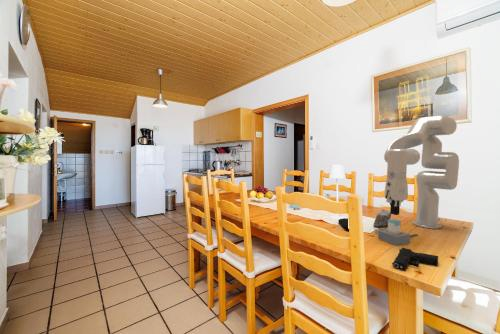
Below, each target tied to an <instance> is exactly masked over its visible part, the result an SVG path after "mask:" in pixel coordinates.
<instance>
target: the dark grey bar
mask: <svg viewBox="0 0 500 334" xmlns="http://www.w3.org/2000/svg"><path fill="white" fill-rule="evenodd" d="M415 237H419V234H417V233H414V234H410V239H411V238H415Z"/></svg>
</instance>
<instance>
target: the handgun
mask: <svg viewBox="0 0 500 334" xmlns="http://www.w3.org/2000/svg"><path fill="white" fill-rule="evenodd" d="M420 264H424V265H429V266H433V265H434V266H435V267H438V265H439V255H434V254H428V253H423V252H415V251H413V250H412V249H410V248H405V247H401V248H399V252H398V254H397V256H396V257H395V258H394V260H393V262H391V265H392V267H393V268H394V269H396V270H401V271H406V269H408V268H407V267H408V266H412V267H415V268H419V265H420Z"/></svg>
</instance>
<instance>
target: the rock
mask: <svg viewBox="0 0 500 334" xmlns="http://www.w3.org/2000/svg"><path fill="white" fill-rule="evenodd" d="M388 219H392V214H391V213H390V211H388V210H385V209H382V210H381V211H379V212H377V215H376V217H375V219H374V222H373V227H380V228H385V227H386V226H388Z"/></svg>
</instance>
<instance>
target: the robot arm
mask: <svg viewBox="0 0 500 334" xmlns="http://www.w3.org/2000/svg"><path fill="white" fill-rule="evenodd" d="M457 127H458V125H457V121H456V120H455V119H454V118H452V117H450V116H447V115H442V114H441V115H440V114H439V115H431V116H422V117H419V118H417V119H415V120H414V122H413V123H412V124H411V126H410V128H409V130H408V131H407V132H406V134H405V135H402V136H401V137H399V138H397V139H395V140H394V141H392V142H390V144H389V145H388V147H387V148H386V150H385V152H384V155H383V158H384V162H386V163H387V165H386V166H387V169H386V180H385V187H384V198H385V199H386V203H389V206H390V211H389V212H390V213H391V215H394V216H399V215H400V209H401V204H402V203H403V202H404V201H406V200H407V199H408V198H409V197H408V196H409V187H408V179H407V172H408V171H407V170H408V169H407V167H408V166H407V165H409V166H410V165H416V164H417V163H418V162H420V161H421V166H422V167H423V168H425V169H429V170H422V171H420V172H418V173H417V174H416V185H417V186H416V187H417V199H416V200H417V201H416V220H415V219H414V220H413V221H412V225H415V226H417V227H421V228H425V229H432V230H436V229H437V230H439V229H441V228H442V225H441V224H440V223H438V222H441V221H442V219H441V218H440V217H439V203H440V201H439V200H440V196H439V193H438V192H437V191H436V189H438V190H447V191H448V190H455V189H456V188H457V185H458V182H459V181H458V179H459V169H460V168H459V167H460V158H459V155H458V154H457V153H456V152H454V151H451V152H450V151H443V148H442V147H443V142H442V141H441V140H440V138H438V137H437V136H449V135H453V134H454V133H455V132H456V130H457ZM421 145H422V150H421V151H422V152H421V154H420V152H419V150H416V149H415V148H414V147H418V146H421ZM420 159H421V160H420ZM431 169H432V170H431ZM435 170H445V171H435Z"/></svg>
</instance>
